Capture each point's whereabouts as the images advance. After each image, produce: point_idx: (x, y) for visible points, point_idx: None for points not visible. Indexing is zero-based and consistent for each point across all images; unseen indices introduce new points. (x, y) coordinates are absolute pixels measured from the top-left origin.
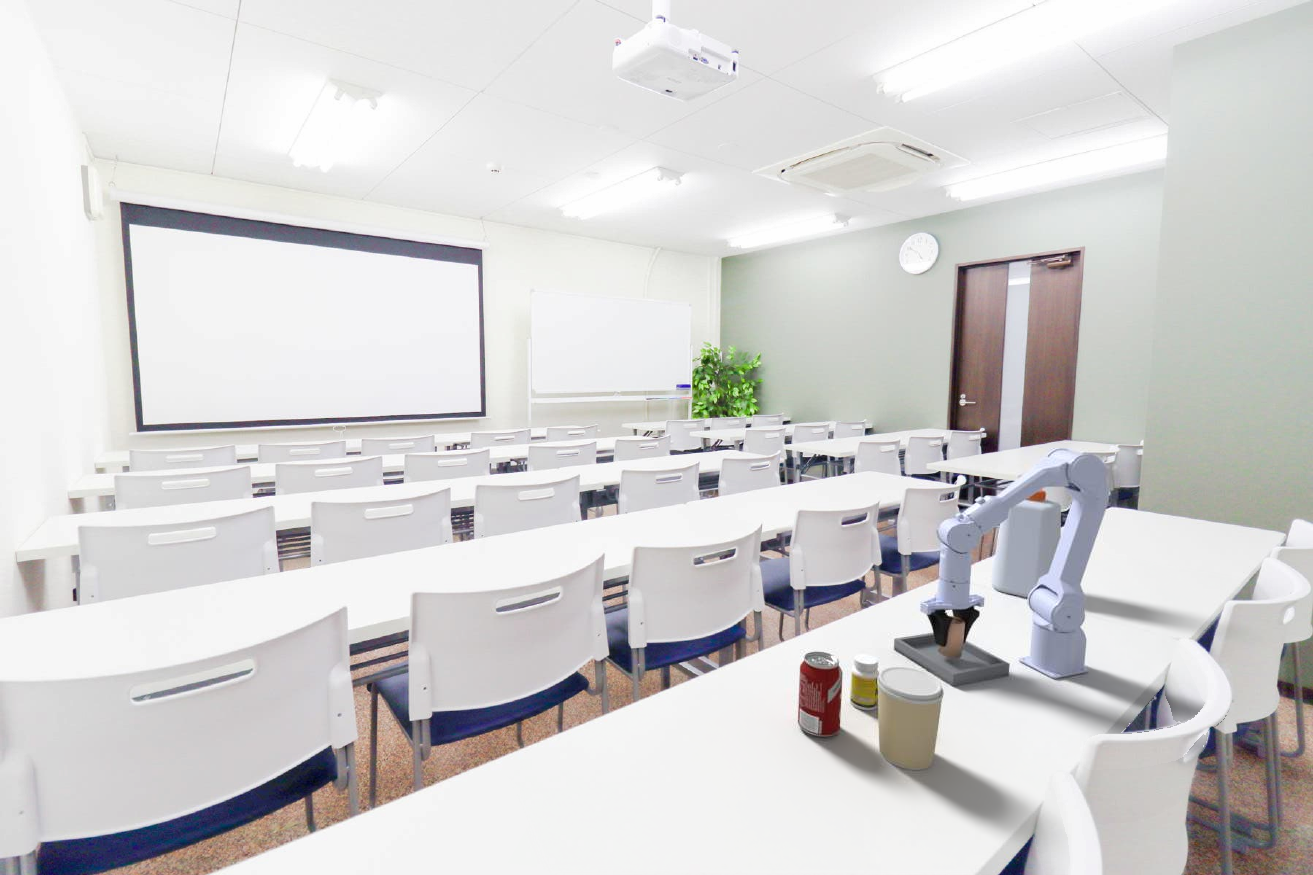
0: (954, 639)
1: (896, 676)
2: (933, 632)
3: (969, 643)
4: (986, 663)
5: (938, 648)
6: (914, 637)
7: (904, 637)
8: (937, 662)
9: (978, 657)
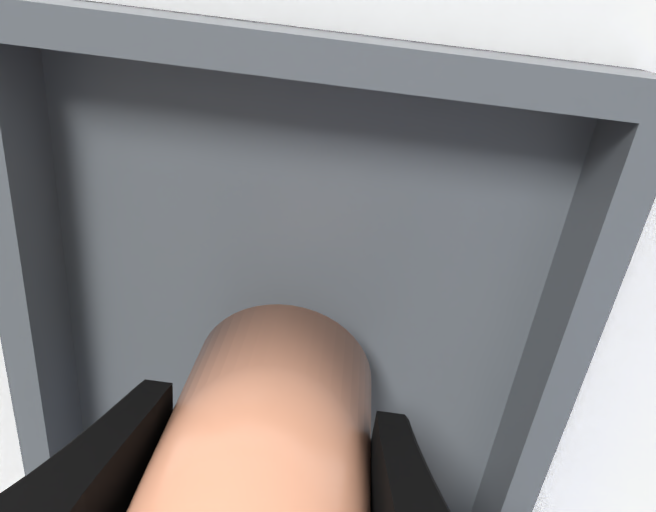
0: None
1: None
2: (77, 437)
3: (570, 374)
4: (471, 472)
5: (204, 346)
6: (184, 64)
7: (71, 16)
8: (46, 451)
9: (503, 417)
